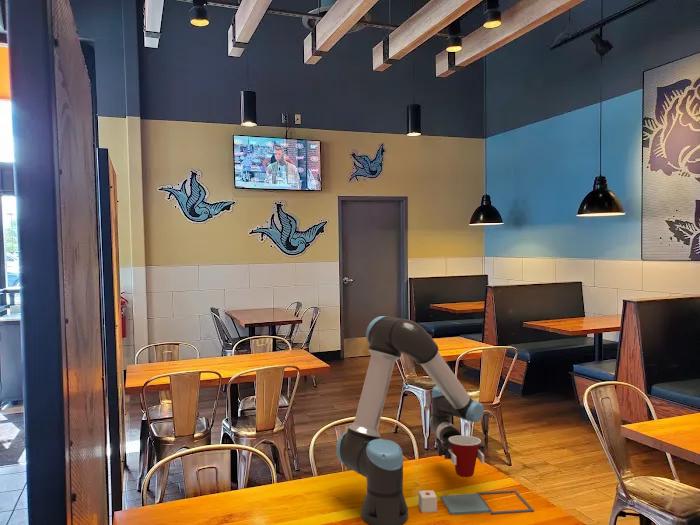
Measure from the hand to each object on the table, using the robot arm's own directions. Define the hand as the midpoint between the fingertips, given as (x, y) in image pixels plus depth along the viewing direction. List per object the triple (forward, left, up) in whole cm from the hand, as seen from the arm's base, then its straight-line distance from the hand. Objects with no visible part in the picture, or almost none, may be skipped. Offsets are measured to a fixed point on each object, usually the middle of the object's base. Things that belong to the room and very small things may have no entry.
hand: (469, 460), depth 179 cm
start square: (+14, +5, -17) cm, 23 cm away
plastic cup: (0, +5, -7) cm, 8 cm away
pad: (0, +5, -17) cm, 18 cm away
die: (-13, +4, -17) cm, 22 cm away
